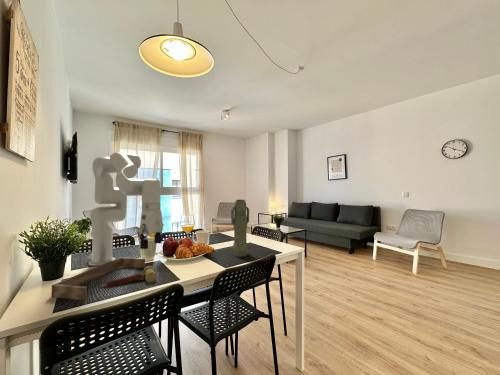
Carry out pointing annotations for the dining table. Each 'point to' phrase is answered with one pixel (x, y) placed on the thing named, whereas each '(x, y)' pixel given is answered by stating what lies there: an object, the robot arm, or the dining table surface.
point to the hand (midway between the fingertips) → (151, 245)
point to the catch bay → (90, 278)
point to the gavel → (134, 277)
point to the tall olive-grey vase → (240, 227)
